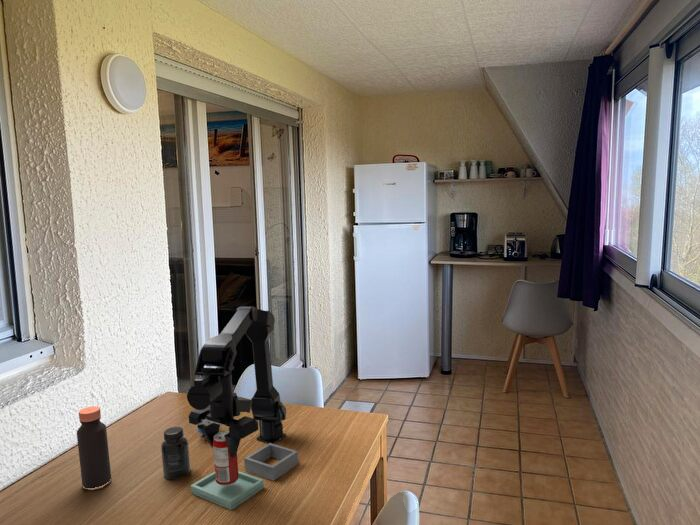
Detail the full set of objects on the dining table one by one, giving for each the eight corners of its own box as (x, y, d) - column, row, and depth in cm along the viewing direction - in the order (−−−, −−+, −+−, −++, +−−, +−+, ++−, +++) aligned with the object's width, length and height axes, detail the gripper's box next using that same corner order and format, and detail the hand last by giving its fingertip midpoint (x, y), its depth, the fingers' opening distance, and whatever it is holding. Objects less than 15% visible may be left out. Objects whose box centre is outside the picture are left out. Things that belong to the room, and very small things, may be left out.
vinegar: (117, 478, 139) (109, 405, 137) (100, 492, 132) (92, 416, 130) (94, 476, 140) (86, 404, 138) (76, 490, 134) (68, 414, 131)
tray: (191, 493, 130) (190, 485, 130) (224, 472, 139) (224, 465, 139) (231, 509, 123) (230, 501, 122) (263, 487, 132) (263, 479, 131)
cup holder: (245, 470, 140) (244, 458, 140) (270, 454, 148) (269, 442, 148) (273, 480, 135) (272, 467, 134) (298, 463, 143) (297, 451, 142)
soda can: (237, 473, 134) (234, 428, 133) (239, 484, 129) (236, 437, 128) (215, 477, 133) (211, 431, 131) (216, 488, 128) (212, 441, 126)
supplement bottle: (195, 468, 142) (192, 426, 141) (180, 482, 136) (176, 437, 134) (174, 465, 145) (170, 423, 143) (157, 478, 138) (153, 434, 137)
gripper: (272, 388, 129) (275, 449, 131) (219, 376, 140) (223, 432, 142) (238, 404, 120) (243, 469, 122) (184, 390, 131) (190, 450, 133)
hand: (225, 454), depth 130 cm, fingers closed on soda can, 5 cm apart
